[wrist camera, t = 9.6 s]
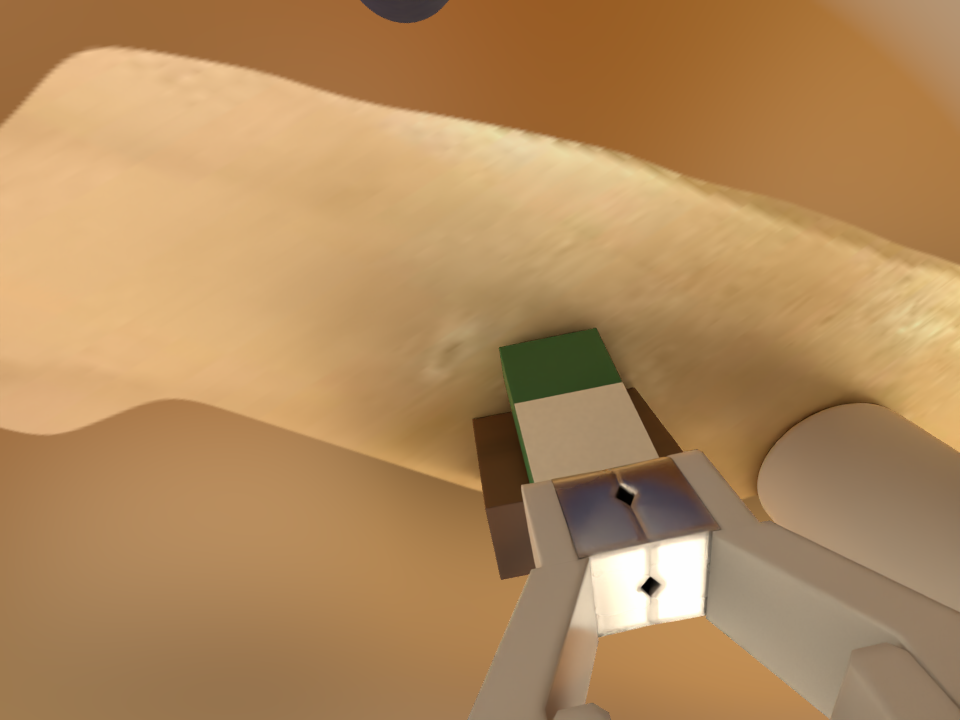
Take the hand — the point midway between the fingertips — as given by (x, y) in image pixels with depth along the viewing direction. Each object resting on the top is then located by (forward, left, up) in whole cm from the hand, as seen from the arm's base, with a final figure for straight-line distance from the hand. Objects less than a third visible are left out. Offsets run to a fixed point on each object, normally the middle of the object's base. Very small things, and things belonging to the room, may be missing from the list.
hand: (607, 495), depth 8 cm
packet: (+12, +3, -15) cm, 19 cm away
